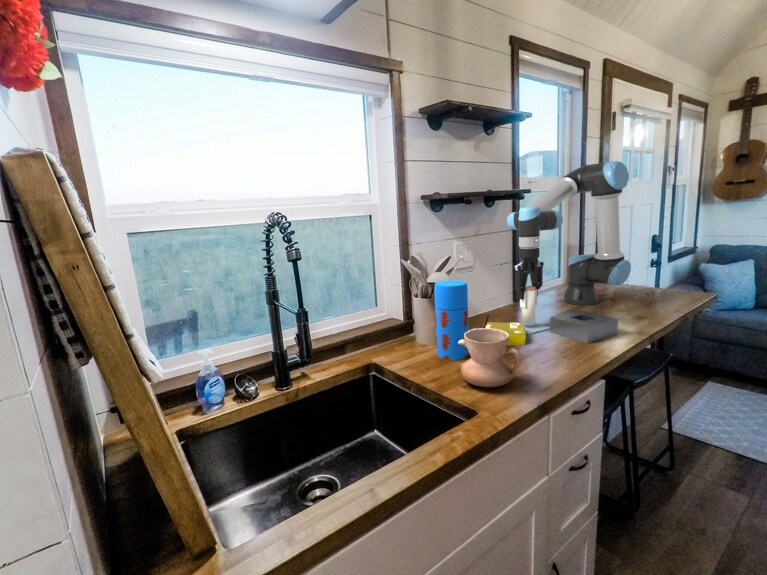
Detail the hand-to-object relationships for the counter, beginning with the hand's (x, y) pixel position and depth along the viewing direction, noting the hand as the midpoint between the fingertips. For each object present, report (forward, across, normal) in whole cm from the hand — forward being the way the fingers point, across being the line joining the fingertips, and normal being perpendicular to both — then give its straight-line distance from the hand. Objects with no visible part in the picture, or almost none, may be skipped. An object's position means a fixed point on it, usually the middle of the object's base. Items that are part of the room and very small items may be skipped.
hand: (528, 305), depth 151 cm
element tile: (+10, -16, -3) cm, 19 cm away
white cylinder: (+7, 0, 0) cm, 7 cm away
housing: (+9, +11, -16) cm, 22 cm away
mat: (+9, 0, 0) cm, 9 cm away
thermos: (+9, -41, -6) cm, 42 cm away
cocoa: (+10, -29, -4) cm, 31 cm away
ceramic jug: (+10, -45, -29) cm, 54 cm away
